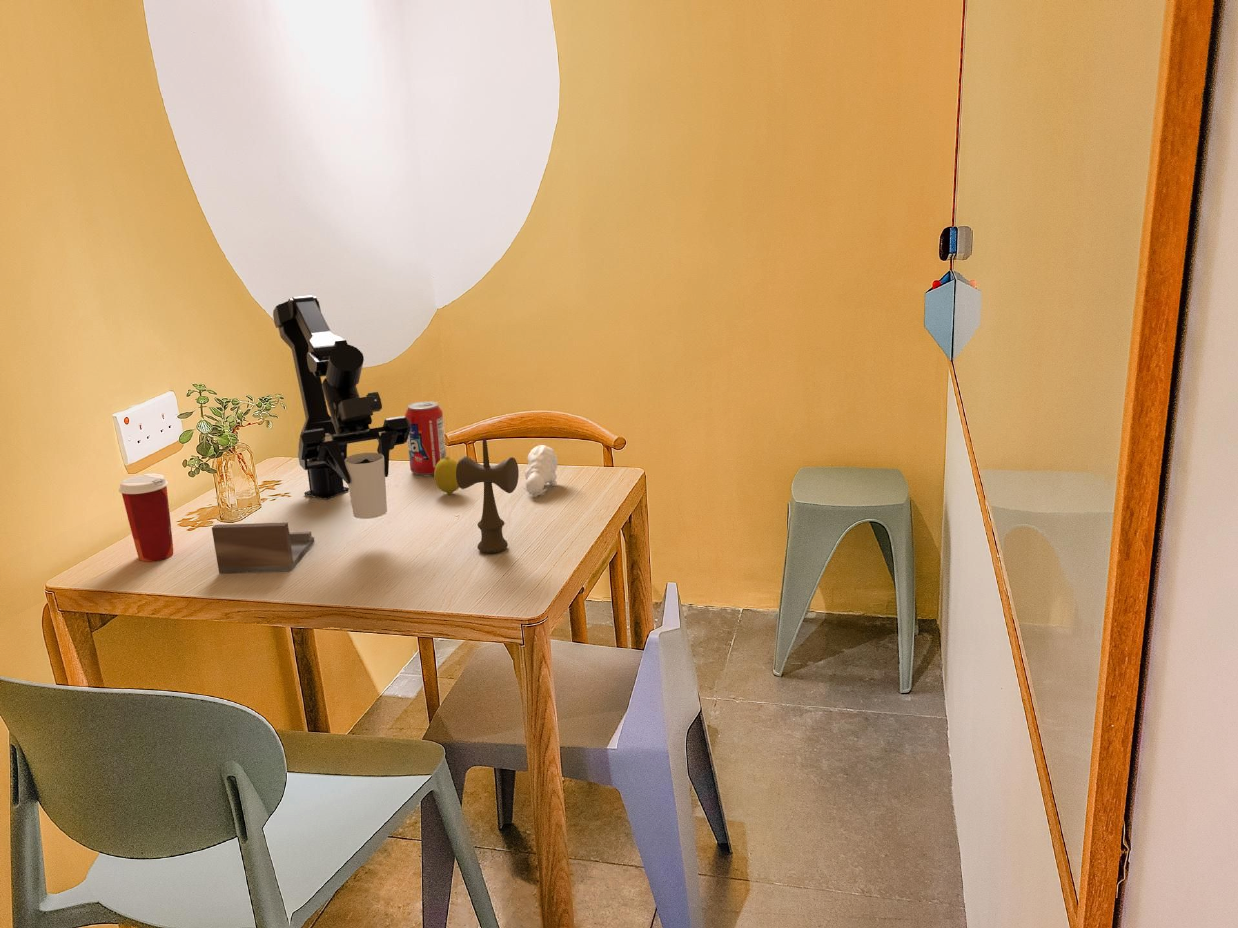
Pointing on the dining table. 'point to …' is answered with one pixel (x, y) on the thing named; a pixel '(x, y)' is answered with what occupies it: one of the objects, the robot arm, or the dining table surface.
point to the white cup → (367, 484)
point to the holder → (259, 547)
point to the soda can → (425, 437)
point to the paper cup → (148, 515)
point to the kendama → (489, 494)
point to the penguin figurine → (540, 469)
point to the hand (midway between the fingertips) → (368, 479)
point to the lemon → (446, 475)
